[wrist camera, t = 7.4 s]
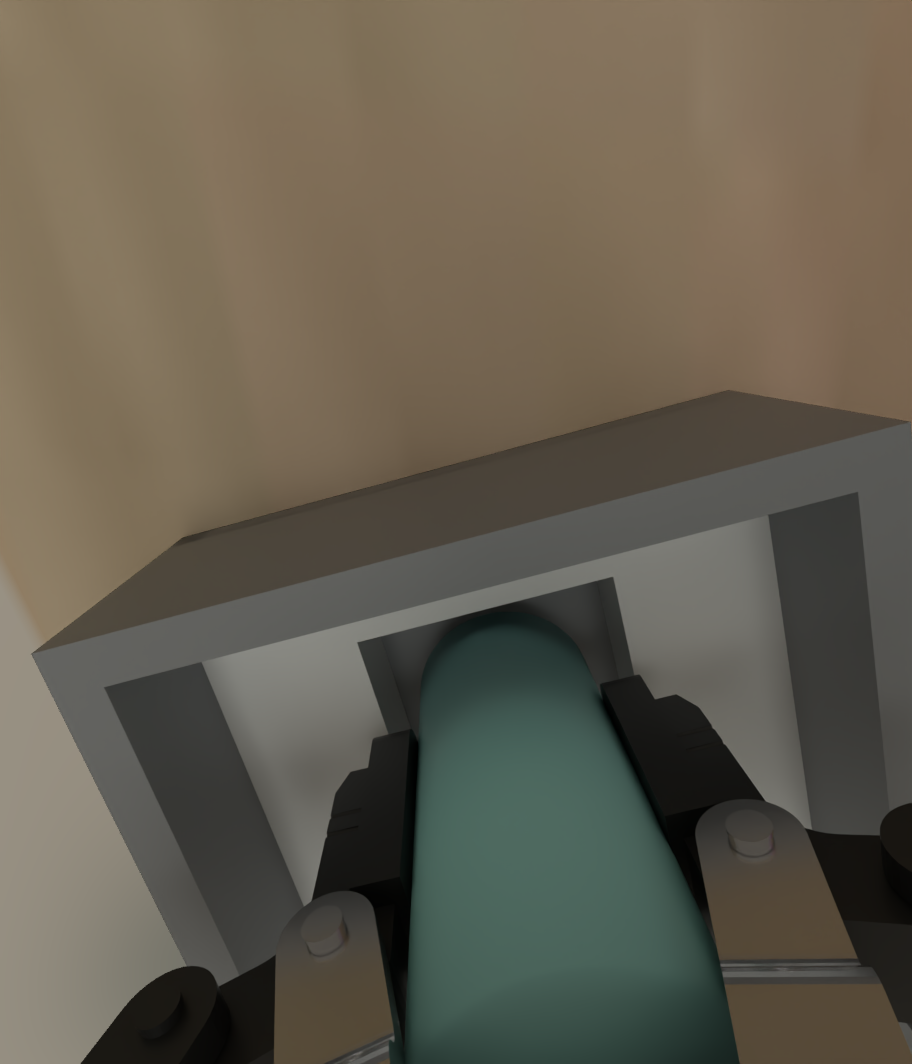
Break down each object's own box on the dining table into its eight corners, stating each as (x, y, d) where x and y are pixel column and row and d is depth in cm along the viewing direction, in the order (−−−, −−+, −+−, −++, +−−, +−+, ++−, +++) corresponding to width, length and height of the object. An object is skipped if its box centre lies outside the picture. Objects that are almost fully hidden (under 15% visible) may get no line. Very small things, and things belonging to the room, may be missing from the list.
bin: (728, 390, 15) (911, 422, 9) (830, 1075, 21) (978, 1354, 15) (182, 537, 16) (31, 653, 10) (434, 1160, 22) (431, 1458, 16)
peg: (623, 667, 14) (848, 1066, 6) (524, 788, 15) (618, 1272, 7) (483, 579, 13) (546, 905, 6) (388, 711, 14) (331, 1153, 6)
